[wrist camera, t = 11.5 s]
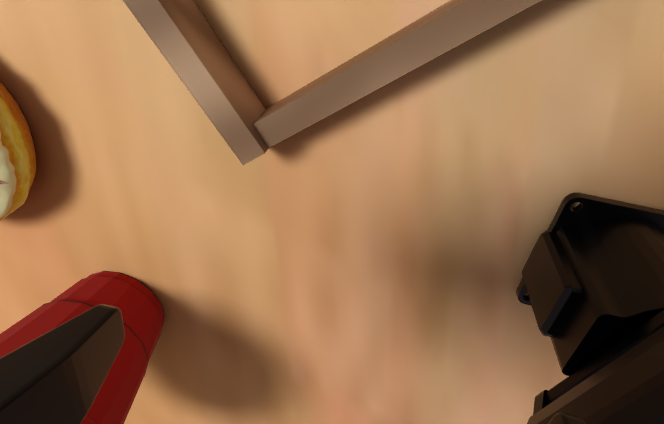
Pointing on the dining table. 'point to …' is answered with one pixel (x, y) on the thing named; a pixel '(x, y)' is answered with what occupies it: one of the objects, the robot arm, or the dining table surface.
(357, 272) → the dining table surface
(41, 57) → the dining table surface
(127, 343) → the plastic cup
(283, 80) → the dining table surface
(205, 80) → the brown flat frame
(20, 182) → the decorated donut
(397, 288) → the dining table surface
